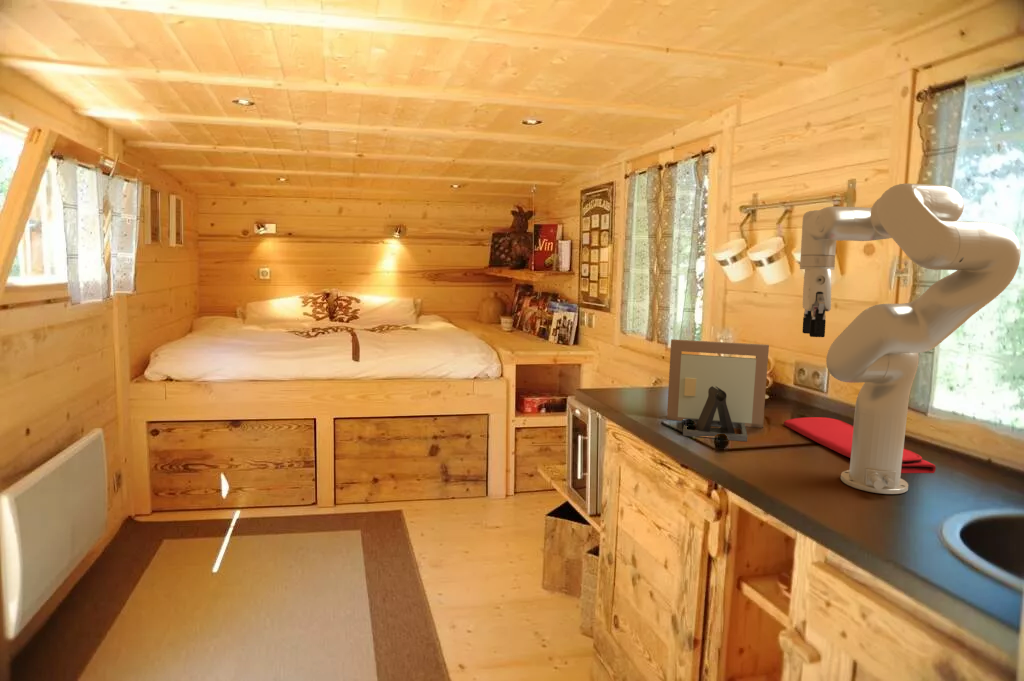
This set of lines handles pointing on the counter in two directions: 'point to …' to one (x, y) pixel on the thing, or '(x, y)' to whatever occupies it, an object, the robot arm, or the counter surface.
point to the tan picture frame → (718, 380)
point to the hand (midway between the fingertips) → (813, 335)
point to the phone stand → (709, 411)
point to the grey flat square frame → (717, 423)
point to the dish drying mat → (848, 440)
